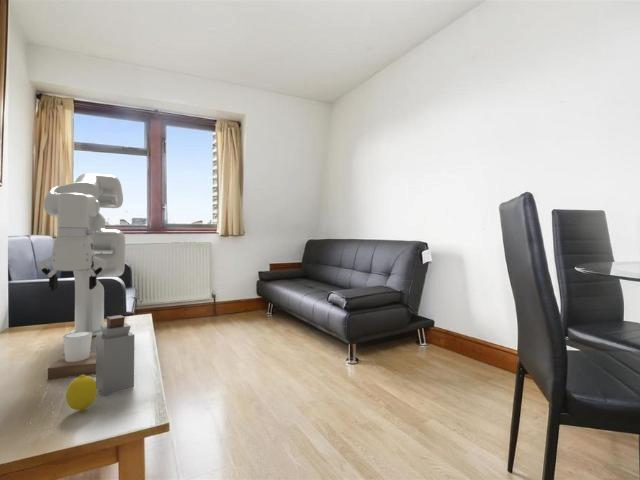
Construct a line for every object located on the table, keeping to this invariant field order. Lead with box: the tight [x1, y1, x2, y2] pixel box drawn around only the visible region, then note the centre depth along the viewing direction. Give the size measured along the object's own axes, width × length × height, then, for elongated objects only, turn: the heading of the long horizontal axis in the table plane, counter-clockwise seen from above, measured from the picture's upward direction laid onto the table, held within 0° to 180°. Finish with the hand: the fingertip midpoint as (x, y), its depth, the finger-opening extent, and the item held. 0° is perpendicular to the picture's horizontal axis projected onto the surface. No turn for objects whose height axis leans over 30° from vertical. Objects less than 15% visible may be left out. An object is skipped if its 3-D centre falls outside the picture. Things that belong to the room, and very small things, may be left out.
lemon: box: [65, 375, 98, 413], centre depth 73 cm, size 6×6×8 cm
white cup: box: [62, 332, 93, 362], centre depth 96 cm, size 7×7×7 cm
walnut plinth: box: [47, 350, 96, 380], centre depth 97 cm, size 12×12×3 cm
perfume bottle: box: [95, 314, 135, 397], centre depth 85 cm, size 7×7×18 cm
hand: (73, 289), depth 102 cm, fingers open, 9 cm apart
